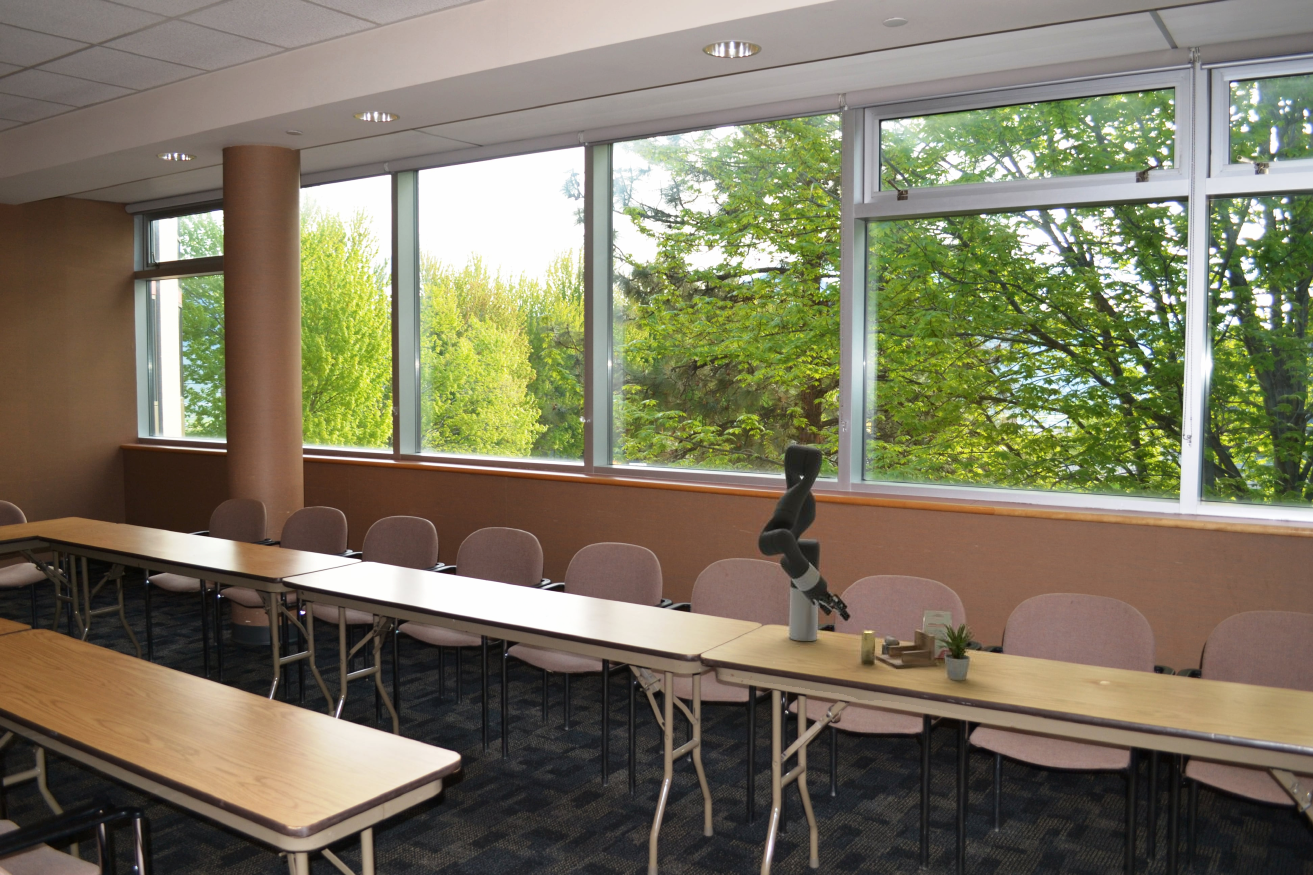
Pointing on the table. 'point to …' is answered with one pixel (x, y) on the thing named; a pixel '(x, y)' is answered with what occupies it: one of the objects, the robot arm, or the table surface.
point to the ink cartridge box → (935, 623)
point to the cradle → (909, 651)
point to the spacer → (868, 647)
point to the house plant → (956, 652)
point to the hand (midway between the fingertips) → (838, 615)
